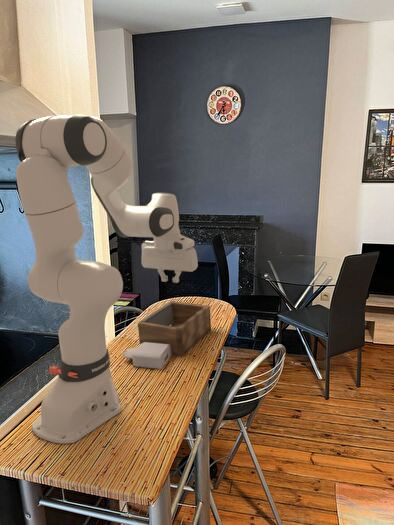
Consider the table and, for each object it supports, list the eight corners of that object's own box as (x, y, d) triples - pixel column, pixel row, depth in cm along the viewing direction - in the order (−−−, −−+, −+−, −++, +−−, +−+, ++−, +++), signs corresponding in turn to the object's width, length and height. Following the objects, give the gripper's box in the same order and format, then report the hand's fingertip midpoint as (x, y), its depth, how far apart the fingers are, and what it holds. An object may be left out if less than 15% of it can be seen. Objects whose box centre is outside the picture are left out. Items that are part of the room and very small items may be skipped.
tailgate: (146, 343, 135) (144, 321, 133) (142, 342, 136) (140, 320, 134) (173, 323, 151) (171, 303, 149) (170, 322, 152) (168, 302, 150)
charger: (129, 352, 134) (171, 356, 129) (116, 366, 125) (161, 370, 121) (127, 339, 132) (170, 342, 128) (114, 352, 124) (159, 356, 120)
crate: (181, 357, 127) (179, 329, 125) (140, 349, 135) (137, 323, 132) (211, 330, 146) (209, 305, 144) (173, 324, 153) (171, 301, 151)
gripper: (135, 242, 134) (139, 281, 138) (189, 245, 125) (192, 287, 128) (146, 238, 140) (149, 276, 143) (198, 241, 130) (201, 281, 134)
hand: (170, 281), depth 136 cm, fingers open, 3 cm apart
